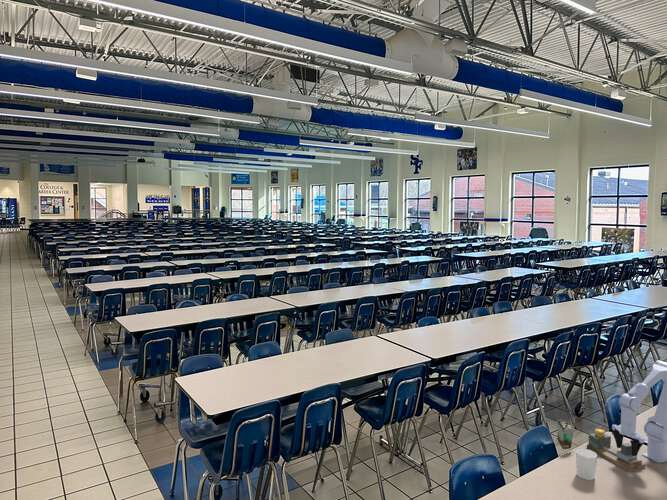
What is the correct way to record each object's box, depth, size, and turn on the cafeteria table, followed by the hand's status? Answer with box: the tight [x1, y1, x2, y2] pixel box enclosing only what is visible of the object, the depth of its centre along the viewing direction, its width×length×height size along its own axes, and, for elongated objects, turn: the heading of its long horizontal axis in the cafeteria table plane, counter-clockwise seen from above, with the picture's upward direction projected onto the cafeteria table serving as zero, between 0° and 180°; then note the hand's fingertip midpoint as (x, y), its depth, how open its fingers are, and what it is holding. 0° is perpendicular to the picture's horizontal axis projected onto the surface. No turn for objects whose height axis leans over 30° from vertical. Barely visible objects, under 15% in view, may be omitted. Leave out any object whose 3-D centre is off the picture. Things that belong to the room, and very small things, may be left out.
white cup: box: [575, 448, 598, 481], centre depth 201 cm, size 8×8×10 cm
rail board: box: [586, 432, 646, 472], centre depth 218 cm, size 10×22×6 cm, turn 18°
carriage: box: [616, 442, 638, 463], centre depth 212 cm, size 5×6×7 cm
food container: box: [556, 419, 576, 450], centre depth 229 cm, size 12×6×10 cm, turn 168°
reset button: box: [594, 428, 606, 437], centre depth 226 cm, size 4×4×5 cm
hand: (626, 451), depth 212 cm, fingers open, 7 cm apart
